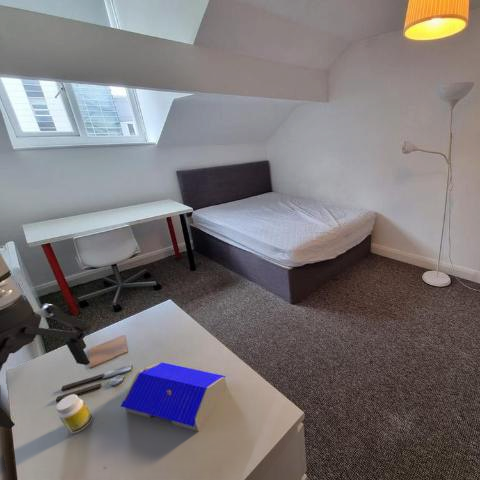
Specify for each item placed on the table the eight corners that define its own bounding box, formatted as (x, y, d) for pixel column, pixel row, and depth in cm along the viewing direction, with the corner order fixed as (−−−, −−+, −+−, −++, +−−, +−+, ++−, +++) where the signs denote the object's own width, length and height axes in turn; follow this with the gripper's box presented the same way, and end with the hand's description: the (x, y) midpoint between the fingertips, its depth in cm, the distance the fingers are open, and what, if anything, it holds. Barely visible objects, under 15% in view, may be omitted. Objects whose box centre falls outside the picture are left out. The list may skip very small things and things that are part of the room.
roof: (124, 414, 70) (114, 395, 67) (164, 369, 82) (157, 352, 79) (196, 434, 64) (189, 415, 61) (228, 383, 77) (223, 365, 74)
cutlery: (54, 405, 73) (53, 403, 72) (64, 386, 78) (63, 384, 78) (128, 382, 78) (127, 380, 78) (132, 365, 84) (131, 363, 83)
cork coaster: (89, 349, 90) (89, 348, 90) (124, 335, 96) (124, 334, 96) (89, 368, 83) (89, 367, 83) (127, 352, 89) (127, 351, 89)
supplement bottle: (97, 415, 70) (84, 393, 66) (81, 434, 65) (66, 412, 62) (80, 413, 70) (67, 392, 67) (63, 433, 66) (48, 410, 62)
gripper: (-118, 370, 33) (-22, 467, 42) (84, 269, 55) (119, 346, 64) (-154, 361, 35) (-54, 456, 43) (56, 266, 57) (94, 341, 65)
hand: (49, 390), depth 54 cm, fingers open, 13 cm apart
